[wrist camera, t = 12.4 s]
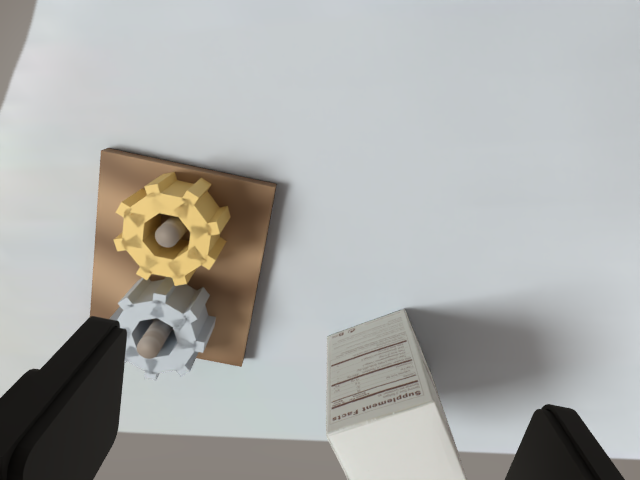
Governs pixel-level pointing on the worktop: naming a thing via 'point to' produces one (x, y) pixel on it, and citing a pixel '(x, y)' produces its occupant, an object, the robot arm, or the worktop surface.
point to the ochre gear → (193, 212)
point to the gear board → (230, 266)
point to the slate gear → (175, 310)
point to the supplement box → (386, 405)
